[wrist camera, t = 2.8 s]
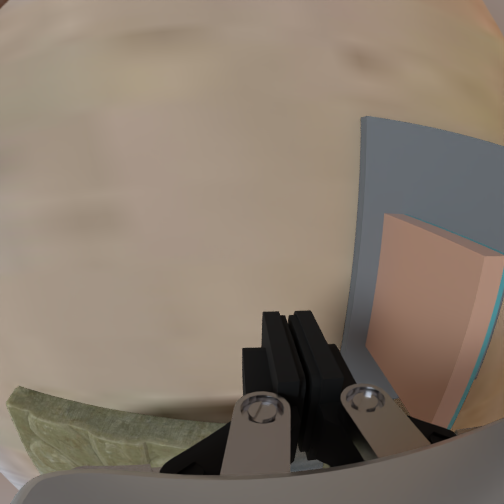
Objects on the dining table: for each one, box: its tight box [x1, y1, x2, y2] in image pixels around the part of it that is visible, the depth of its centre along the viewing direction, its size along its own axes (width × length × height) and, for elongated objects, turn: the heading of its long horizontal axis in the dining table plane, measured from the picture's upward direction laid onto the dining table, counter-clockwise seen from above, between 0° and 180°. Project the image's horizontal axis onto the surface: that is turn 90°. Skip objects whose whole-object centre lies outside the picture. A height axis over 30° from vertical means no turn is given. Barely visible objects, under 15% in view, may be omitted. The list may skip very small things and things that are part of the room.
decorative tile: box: [6, 386, 226, 475], centre depth 21 cm, size 19×20×4 cm
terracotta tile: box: [365, 213, 504, 430], centre depth 13 cm, size 8×2×8 cm, turn 179°
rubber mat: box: [340, 116, 504, 399], centre depth 18 cm, size 18×13×1 cm
